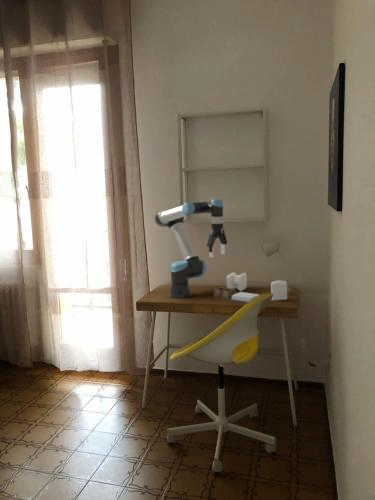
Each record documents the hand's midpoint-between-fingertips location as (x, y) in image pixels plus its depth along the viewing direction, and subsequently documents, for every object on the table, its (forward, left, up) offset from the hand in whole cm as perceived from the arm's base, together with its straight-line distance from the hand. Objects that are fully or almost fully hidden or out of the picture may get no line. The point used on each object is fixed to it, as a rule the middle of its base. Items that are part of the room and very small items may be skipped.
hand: (217, 255), depth 269 cm
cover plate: (+18, +5, -28) cm, 33 cm away
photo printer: (+36, +16, -29) cm, 49 cm away
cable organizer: (-2, +26, -29) cm, 39 cm away
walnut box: (+2, +5, -28) cm, 29 cm away
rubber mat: (+18, +5, -28) cm, 34 cm away
